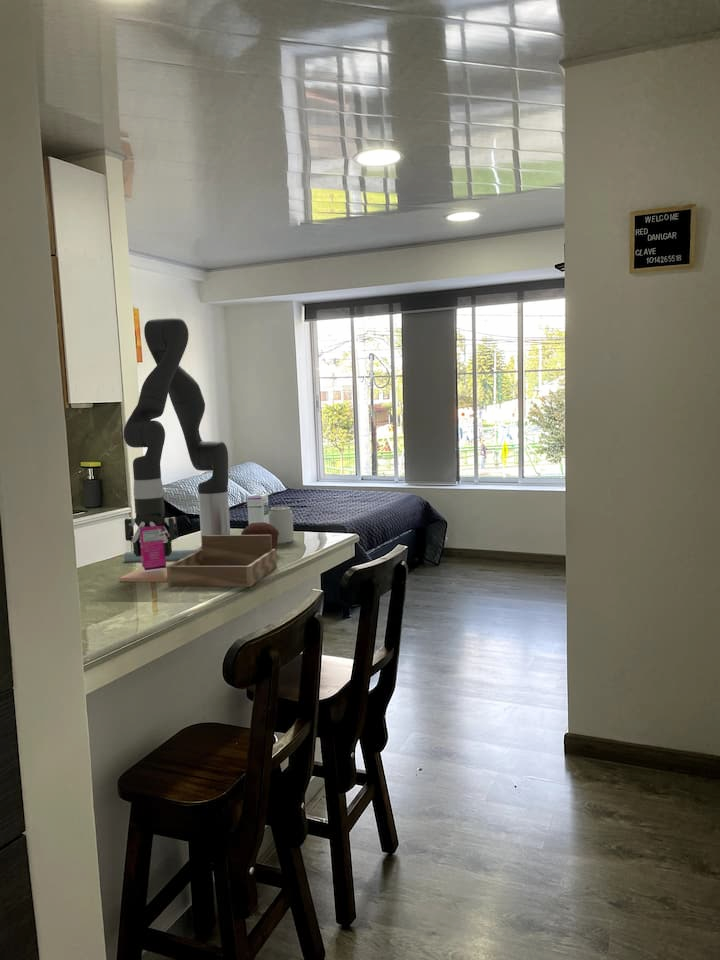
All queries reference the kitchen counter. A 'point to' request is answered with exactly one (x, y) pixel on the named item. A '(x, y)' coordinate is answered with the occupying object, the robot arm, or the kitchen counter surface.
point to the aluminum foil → (173, 556)
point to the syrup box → (258, 508)
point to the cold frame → (225, 562)
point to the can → (282, 523)
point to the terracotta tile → (146, 575)
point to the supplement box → (152, 548)
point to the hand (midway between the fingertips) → (152, 555)
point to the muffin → (262, 531)
